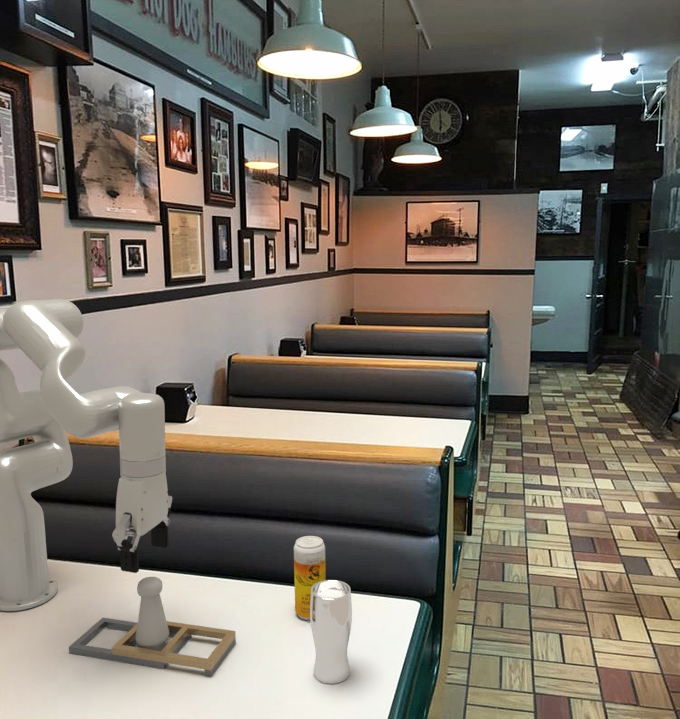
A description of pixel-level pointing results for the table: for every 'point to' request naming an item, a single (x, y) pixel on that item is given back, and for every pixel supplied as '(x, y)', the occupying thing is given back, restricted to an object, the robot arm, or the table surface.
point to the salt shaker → (151, 615)
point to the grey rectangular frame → (103, 653)
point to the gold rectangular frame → (167, 652)
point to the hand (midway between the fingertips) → (145, 558)
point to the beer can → (307, 571)
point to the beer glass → (331, 629)
